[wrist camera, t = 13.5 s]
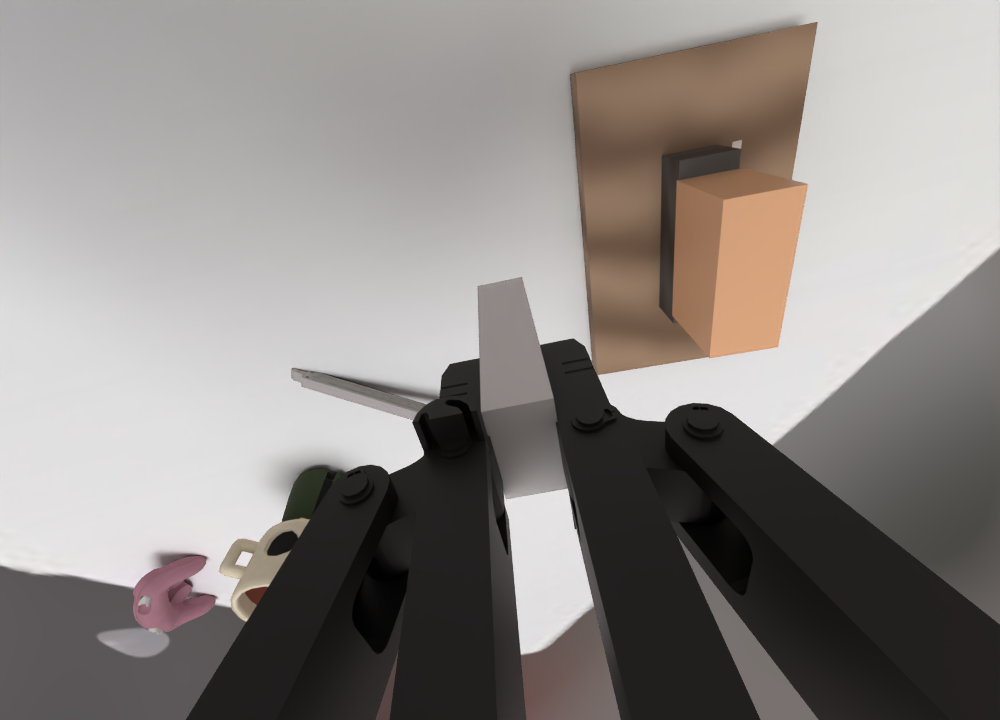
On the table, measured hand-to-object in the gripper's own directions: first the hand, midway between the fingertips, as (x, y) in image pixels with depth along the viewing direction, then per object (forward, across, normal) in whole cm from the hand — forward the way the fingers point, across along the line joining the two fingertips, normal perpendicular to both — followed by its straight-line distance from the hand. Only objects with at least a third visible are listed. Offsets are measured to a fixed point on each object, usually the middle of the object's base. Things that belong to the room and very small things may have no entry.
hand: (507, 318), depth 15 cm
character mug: (+19, -23, -25) cm, 39 cm away
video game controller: (+20, -46, -36) cm, 62 cm away
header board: (+19, +13, -5) cm, 24 cm away
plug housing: (+14, +13, -5) cm, 20 cm away
